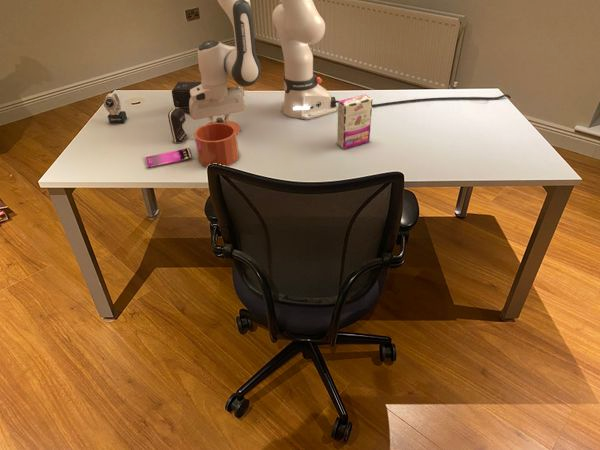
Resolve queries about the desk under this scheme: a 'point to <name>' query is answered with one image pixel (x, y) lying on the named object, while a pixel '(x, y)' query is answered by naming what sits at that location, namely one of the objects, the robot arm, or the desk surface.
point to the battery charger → (177, 124)
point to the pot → (216, 144)
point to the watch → (114, 109)
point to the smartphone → (168, 157)
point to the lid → (234, 124)
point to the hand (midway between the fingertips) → (220, 125)
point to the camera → (183, 94)
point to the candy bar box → (354, 121)
